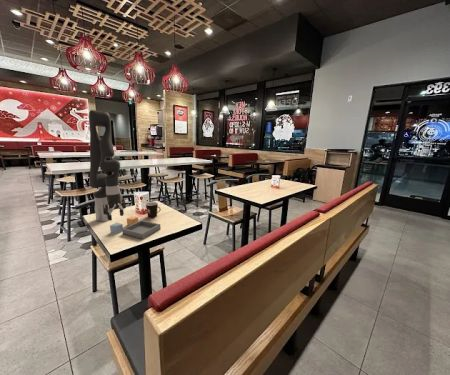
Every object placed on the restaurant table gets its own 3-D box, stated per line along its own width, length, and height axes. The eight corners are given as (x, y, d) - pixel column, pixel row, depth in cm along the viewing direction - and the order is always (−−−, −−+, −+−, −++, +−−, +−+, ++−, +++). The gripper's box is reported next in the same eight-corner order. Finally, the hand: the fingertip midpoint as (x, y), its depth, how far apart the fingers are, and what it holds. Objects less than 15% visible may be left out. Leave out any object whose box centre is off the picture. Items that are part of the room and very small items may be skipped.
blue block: (110, 232, 134) (109, 225, 132) (117, 229, 138) (116, 222, 137) (116, 234, 132) (115, 226, 131) (123, 231, 136) (122, 223, 135)
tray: (122, 234, 132) (122, 229, 131) (141, 224, 146) (141, 220, 145) (142, 239, 126) (142, 234, 125) (160, 229, 140) (160, 224, 139)
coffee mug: (144, 215, 162) (143, 203, 160) (155, 213, 168) (155, 201, 165) (150, 220, 154) (149, 207, 151) (162, 217, 159) (161, 205, 157)
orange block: (127, 225, 145) (126, 218, 144) (132, 222, 150) (132, 215, 149) (132, 226, 143) (132, 219, 142) (138, 223, 148) (137, 217, 147)
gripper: (118, 189, 137) (121, 213, 140) (98, 194, 124) (101, 220, 128) (127, 190, 134) (129, 215, 138) (107, 196, 121) (110, 222, 125)
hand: (116, 217), depth 133 cm, fingers open, 8 cm apart
